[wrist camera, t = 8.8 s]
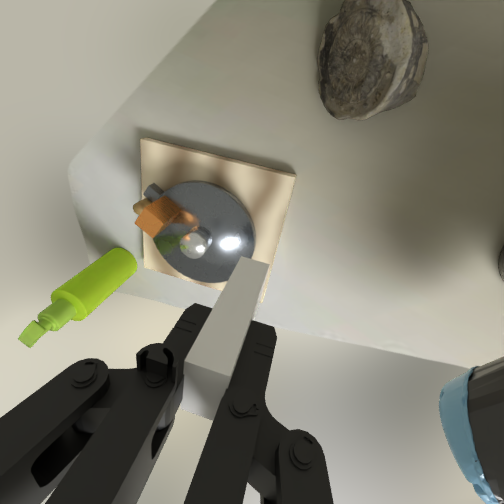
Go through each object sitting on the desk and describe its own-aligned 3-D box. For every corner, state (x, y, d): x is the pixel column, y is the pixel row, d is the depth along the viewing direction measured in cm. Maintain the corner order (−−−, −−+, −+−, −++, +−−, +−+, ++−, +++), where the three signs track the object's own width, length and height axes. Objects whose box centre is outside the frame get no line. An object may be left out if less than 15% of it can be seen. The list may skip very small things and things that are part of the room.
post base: (296, 174, 37) (291, 187, 32) (263, 297, 49) (256, 321, 44) (146, 137, 40) (119, 143, 35) (148, 263, 51) (128, 281, 46)
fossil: (296, 38, 30) (342, -24, 21) (369, 1, 30) (448, -76, 21) (330, 137, 34) (383, 123, 24) (396, 103, 34) (473, 76, 25)
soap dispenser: (145, 261, 51) (55, 343, 35) (127, 279, 55) (37, 362, 38) (120, 238, 50) (14, 312, 33) (104, 258, 54) (-1, 334, 37)
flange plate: (279, 236, 39) (270, 259, 34) (214, 293, 47) (199, 320, 42) (179, 143, 36) (152, 153, 31) (128, 222, 44) (100, 240, 39)
